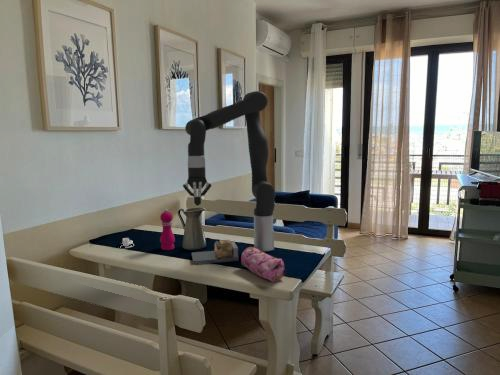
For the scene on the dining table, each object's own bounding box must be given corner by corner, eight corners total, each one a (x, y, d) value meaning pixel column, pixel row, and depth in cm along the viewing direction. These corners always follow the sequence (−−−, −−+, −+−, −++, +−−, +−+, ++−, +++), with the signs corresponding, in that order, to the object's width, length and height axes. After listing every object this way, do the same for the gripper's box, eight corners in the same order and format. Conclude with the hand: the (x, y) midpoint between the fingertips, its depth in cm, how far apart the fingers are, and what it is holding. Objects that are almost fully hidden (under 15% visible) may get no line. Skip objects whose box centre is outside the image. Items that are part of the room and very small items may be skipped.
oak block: (230, 252, 172) (230, 239, 171) (232, 255, 167) (231, 242, 166) (219, 252, 171) (219, 240, 170) (221, 256, 166) (220, 243, 165)
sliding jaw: (218, 250, 173) (218, 240, 172) (221, 257, 163) (221, 246, 163) (214, 250, 173) (214, 240, 172) (217, 257, 163) (217, 246, 162)
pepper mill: (171, 250, 179) (170, 210, 176) (157, 250, 180) (156, 210, 177) (177, 246, 186) (176, 207, 183) (164, 245, 187) (162, 207, 184)
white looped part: (129, 242, 194) (128, 235, 193) (138, 245, 189) (138, 237, 189) (114, 247, 187) (114, 239, 186) (124, 249, 182) (123, 241, 182)
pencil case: (288, 279, 143) (288, 257, 142) (269, 285, 138) (269, 262, 137) (256, 263, 161) (255, 244, 160) (238, 268, 156) (237, 248, 154)
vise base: (234, 252, 176) (233, 241, 175) (238, 260, 164) (238, 248, 163) (191, 255, 172) (191, 244, 171) (193, 264, 160) (192, 252, 159)
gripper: (181, 167, 155) (182, 207, 158) (212, 166, 158) (213, 206, 161) (180, 165, 163) (182, 204, 165) (210, 165, 165) (211, 202, 168)
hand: (197, 205), depth 163 cm, fingers closed
